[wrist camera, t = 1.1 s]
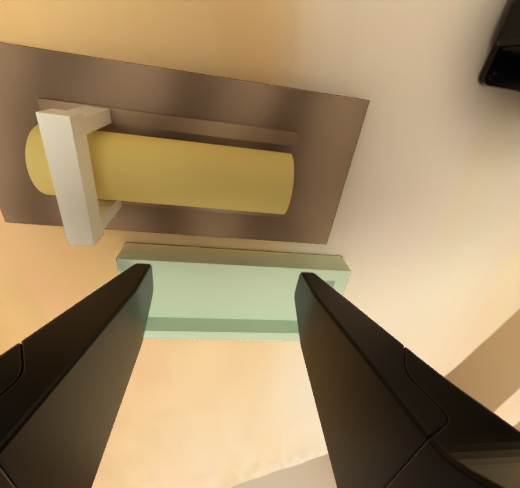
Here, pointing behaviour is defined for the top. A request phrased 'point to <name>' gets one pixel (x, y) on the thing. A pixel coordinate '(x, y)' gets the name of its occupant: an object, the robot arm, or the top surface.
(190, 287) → the tray
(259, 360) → the top surface
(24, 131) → the holder board
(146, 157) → the yellow cylinder
